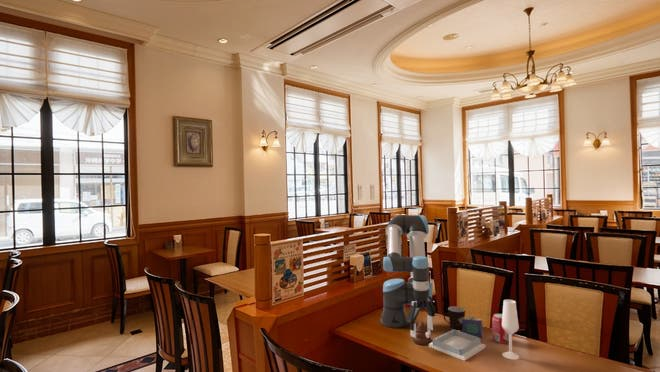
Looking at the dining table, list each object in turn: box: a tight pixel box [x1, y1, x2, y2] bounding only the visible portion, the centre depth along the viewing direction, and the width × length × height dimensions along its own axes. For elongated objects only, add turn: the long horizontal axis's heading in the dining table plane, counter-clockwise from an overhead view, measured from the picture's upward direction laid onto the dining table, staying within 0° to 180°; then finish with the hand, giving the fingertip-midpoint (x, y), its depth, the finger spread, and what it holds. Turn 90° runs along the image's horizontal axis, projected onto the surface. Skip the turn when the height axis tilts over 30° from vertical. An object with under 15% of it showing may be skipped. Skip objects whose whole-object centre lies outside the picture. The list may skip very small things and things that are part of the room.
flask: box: [462, 314, 484, 339], centre depth 177 cm, size 9×3×11 cm, turn 74°
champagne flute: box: [501, 299, 520, 360], centre depth 157 cm, size 7×7×24 cm
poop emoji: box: [411, 320, 432, 346], centre depth 174 cm, size 10×8×9 cm
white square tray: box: [428, 329, 486, 362], centre depth 166 cm, size 18×18×4 cm
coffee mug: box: [443, 306, 466, 331], centre depth 188 cm, size 12×9×10 cm
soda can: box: [491, 313, 509, 344], centre depth 172 cm, size 7×7×12 cm
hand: (421, 332), depth 173 cm, fingers open, 13 cm apart
